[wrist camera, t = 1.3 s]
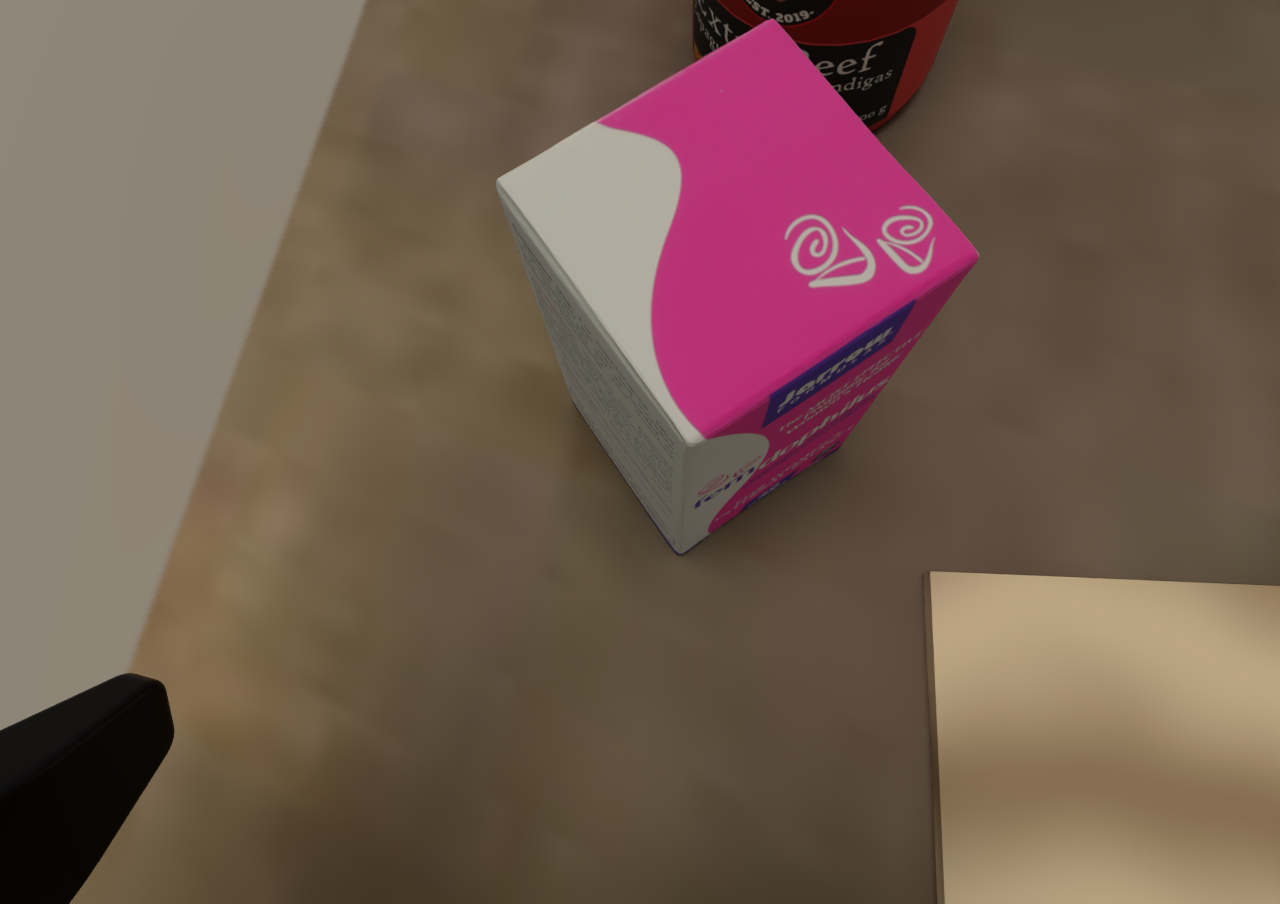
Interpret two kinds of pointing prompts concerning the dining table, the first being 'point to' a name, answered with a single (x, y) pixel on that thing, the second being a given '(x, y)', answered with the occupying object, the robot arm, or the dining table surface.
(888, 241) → the supplement box
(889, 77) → the canned food
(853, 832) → the dining table surface
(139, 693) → the robot arm
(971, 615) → the oak board
